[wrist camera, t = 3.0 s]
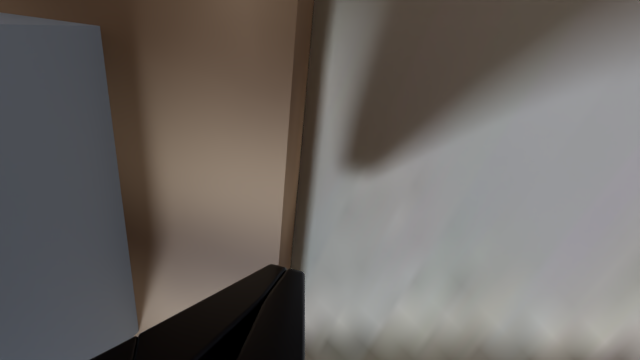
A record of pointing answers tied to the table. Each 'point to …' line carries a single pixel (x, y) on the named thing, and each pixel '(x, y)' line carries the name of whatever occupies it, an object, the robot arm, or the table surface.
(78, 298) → the t block
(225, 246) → the board
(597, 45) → the table surface
